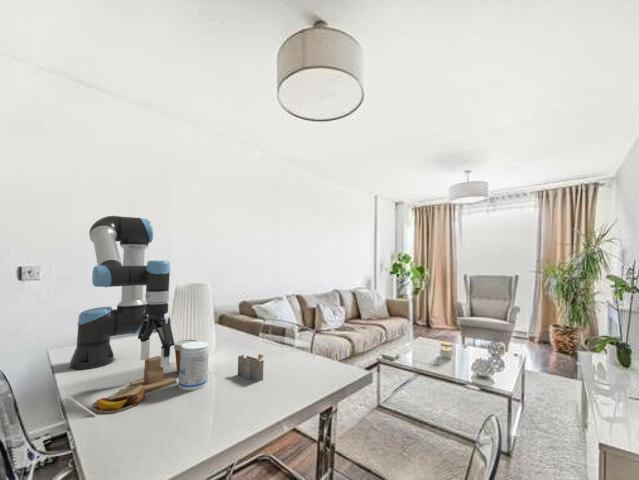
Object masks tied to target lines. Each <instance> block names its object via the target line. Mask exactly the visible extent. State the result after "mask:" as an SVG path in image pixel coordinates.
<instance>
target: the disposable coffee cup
mask: <svg viewBox="0 0 639 480" xmlns="http://www.w3.org/2000/svg"><path fill="white" fill-rule="evenodd" d="M189 342H199V340H197V339H182V340H179V341H176V342H174V345H173V348H174V353H175V364H176V373H177V375H179V368H180V351H181V346H182V345H183V344H185V343H189Z"/></svg>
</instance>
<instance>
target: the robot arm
mask: <svg viewBox="0 0 639 480" xmlns="http://www.w3.org/2000/svg"><path fill="white" fill-rule="evenodd" d="M88 234H89V239H90V241H91V242H92V243H93V246H94V252H95V258H96V263H97V265H96V266H94V267H93V268H92V276H91V280H92V285H93V286H94V287H95V288H102V287H103V288H110V287H111V288H112V287H121V297H120V299H121V300H120V302H118V304H117V305H116V309H115V308H114V309H113V308H112V307H111V306H99V307H94V308H89V309H85V310H84V311H82V312H80V313H79V315H78V320H77V321H78V322H77V336H76V347H75V350H74V353H73V354H72V356H71V359H70V363H69V367H70V369H74V370H88V369H93V368H99V367H104V366H107V365H109V364H112V363H113V362H114V361H115V359H114V358H115V355H114V352H113V349H112V346H111V337H116V336H117V337H118V336H123V335H124V336H125V335H132V334H133V335H135V334H138V336H137V339H138V340H140V346H141V347H140V361H145V359H147V358H150V346H151V345H150V344H151V341H150V340H151V335H152V333H153V332H154V331H155V332H157V334H158V337H159V340H160V343H161V345H162V346H160V347H161V348H160V356H161V365H160V367H163V368H165V367H168V366H170V355H171V347H172V346H173V347H174V346H175V340H174V339H175V338H174V335H173V331H172V327H171V318H170V317H165V315H166V314H167V313H169V303H168V302H169V299H170V295H169V294H170V273H171V267H170V266H171V265H170V262H169V261H168V260H148V261H147V263H146V265H145V250H146V249H147V248H148V247H149V244H151V243H152V242H153V240H154V239H153V238H154V229H153V224H152V223H151V221H150V220H149V219H147V218H140V217H132V216H119V215H107V216H104V217H102V218H100V219H98V220H96V221H95V222H94V223H93V224H92V225H91V227H90V229H89V233H88ZM117 242H119V246H120V247H121V249H123V258H122V260H121V257H120V252H119V249H118V245H117ZM144 286H145V295H144ZM143 297H145V301H144V298H143Z"/></svg>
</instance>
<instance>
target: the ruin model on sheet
mask: <svg viewBox="0 0 639 480" xmlns="http://www.w3.org/2000/svg"><path fill="white" fill-rule="evenodd" d="M244 356H245V354H243V355H242V354H241V355H238V357H237V376H239V377H242V378H245V379H248V380H252V381H255V382H257V383H259V382H261V381H264V362H265V361H264V359H263V358H264V354H261V353H259V354H258V355H257V358H256V357H253V356H249V355H246V357H244ZM262 359H263V360H262Z"/></svg>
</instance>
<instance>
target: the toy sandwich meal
mask: <svg viewBox="0 0 639 480" xmlns="http://www.w3.org/2000/svg"><path fill="white" fill-rule="evenodd" d="M145 397H146V395H145V391H144V388H143V385H142V384H140V385H137V386H132V387H128V386H127V387H123V388H120V389H119V391H117V392H116V394H115V395H114V394H113V395H109V396H107V397H102V398H100V399H96V401H95V402H94V403H92V410H93V411H94V412H95V413H98V414H114V413H117V412H118V413H119V412H123V411H126V410H129V409H131V408H133V407H134V406H136V405H137V404H139V403H140V402H142V401H143V400H144V398H145Z"/></svg>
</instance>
